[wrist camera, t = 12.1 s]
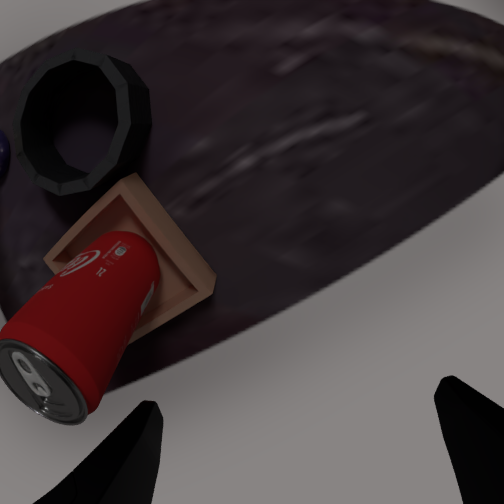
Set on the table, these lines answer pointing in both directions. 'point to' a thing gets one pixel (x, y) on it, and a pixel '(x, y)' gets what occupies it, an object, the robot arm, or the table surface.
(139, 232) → the terracotta tray
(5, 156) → the toy lamp
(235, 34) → the table surface
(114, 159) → the steel collar
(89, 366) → the beverage can
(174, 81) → the table surface
